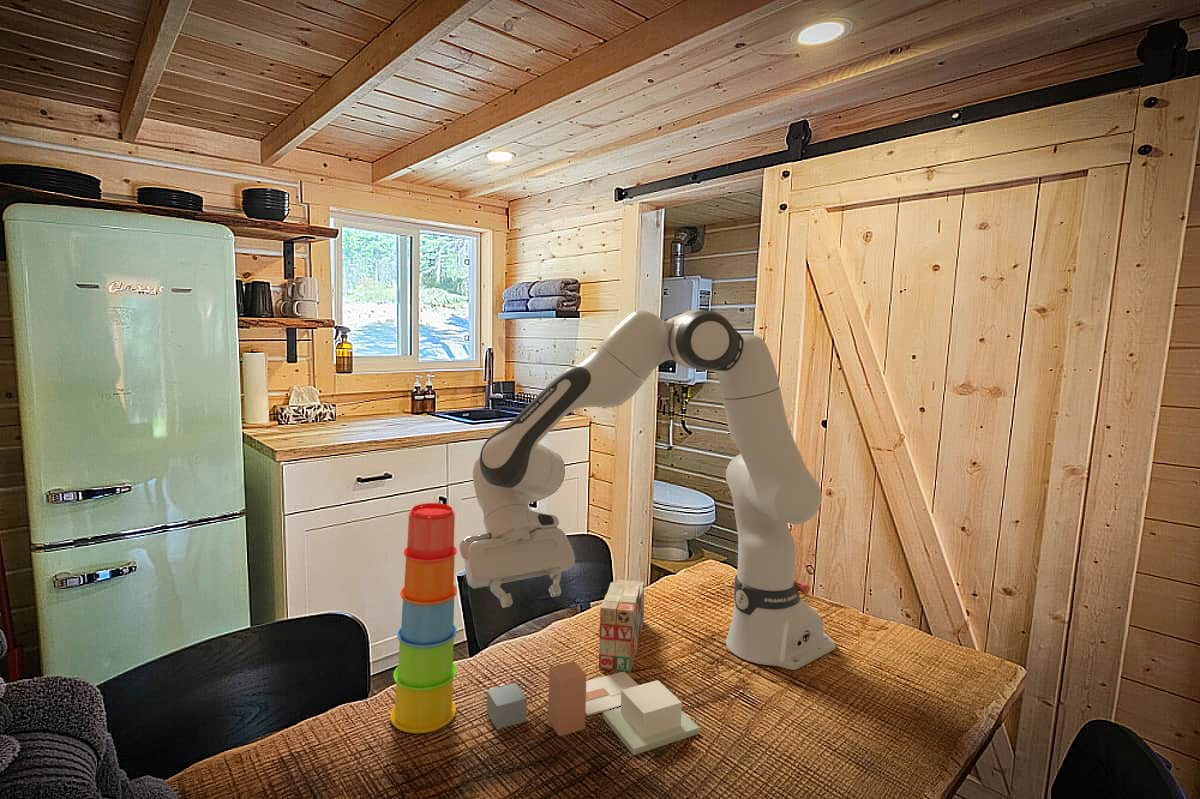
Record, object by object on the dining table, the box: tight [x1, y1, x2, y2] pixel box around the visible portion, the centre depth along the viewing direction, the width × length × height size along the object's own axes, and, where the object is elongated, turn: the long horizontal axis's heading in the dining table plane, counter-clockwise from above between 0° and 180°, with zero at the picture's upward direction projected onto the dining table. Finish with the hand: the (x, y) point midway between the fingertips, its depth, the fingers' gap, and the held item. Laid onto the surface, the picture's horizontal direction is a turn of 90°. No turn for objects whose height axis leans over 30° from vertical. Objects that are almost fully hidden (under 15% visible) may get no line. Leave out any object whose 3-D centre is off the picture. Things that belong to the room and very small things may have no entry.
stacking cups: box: [389, 502, 458, 734], centre depth 98 cm, size 10×10×35 cm
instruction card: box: [585, 671, 639, 717], centre depth 107 cm, size 12×9×1 cm
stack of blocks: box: [598, 579, 645, 673], centre depth 124 cm, size 21×6×12 cm, turn 170°
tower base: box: [602, 679, 701, 756], centre depth 98 cm, size 12×10×5 cm
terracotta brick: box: [547, 660, 587, 737], centre depth 98 cm, size 4×4×9 cm
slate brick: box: [486, 682, 528, 730], centre depth 100 cm, size 5×5×4 cm
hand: (532, 600), depth 107 cm, fingers open, 8 cm apart
